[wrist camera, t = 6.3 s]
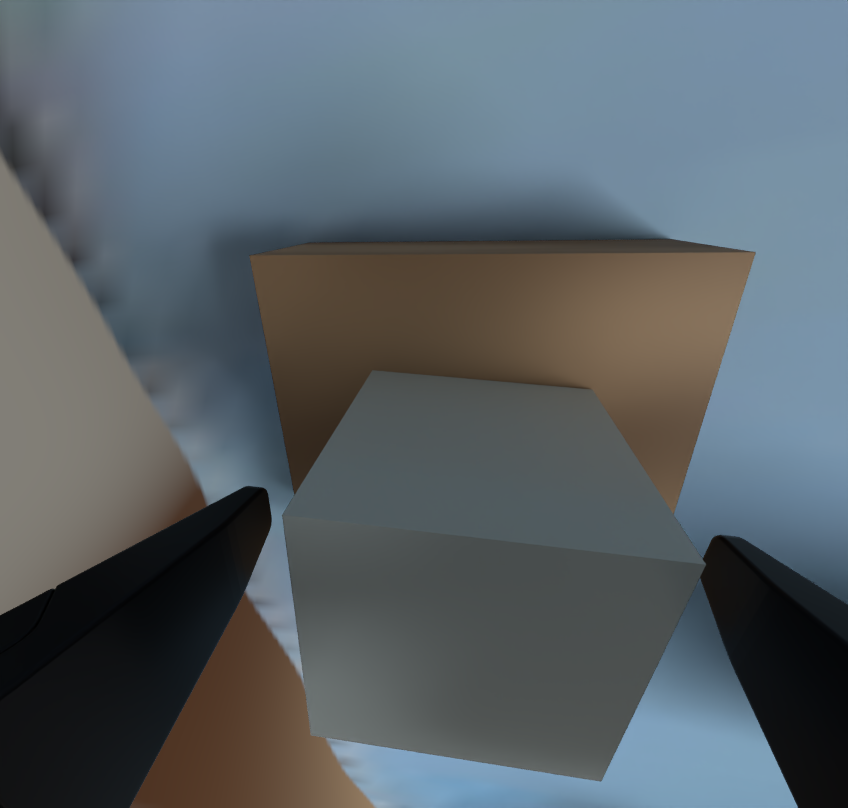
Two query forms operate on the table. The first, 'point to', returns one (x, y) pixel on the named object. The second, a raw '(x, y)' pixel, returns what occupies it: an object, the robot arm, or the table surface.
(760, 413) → the table surface
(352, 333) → the tan block
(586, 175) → the table surface
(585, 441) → the gray cube
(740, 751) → the table surface
